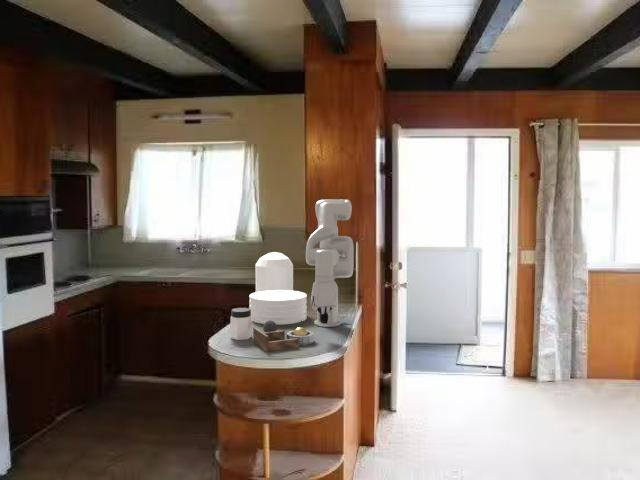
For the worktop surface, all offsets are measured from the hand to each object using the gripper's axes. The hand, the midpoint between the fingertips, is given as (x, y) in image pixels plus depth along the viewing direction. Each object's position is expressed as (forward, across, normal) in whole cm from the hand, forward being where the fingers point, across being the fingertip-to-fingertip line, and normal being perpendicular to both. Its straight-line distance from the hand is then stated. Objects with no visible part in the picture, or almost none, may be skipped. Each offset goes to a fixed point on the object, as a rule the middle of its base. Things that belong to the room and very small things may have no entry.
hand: (323, 322), depth 233 cm
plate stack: (+6, +2, -46) cm, 46 cm away
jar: (+7, +30, -18) cm, 36 cm away
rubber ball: (+4, +17, -18) cm, 25 cm away
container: (+4, -11, -84) cm, 84 cm away
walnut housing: (+7, +21, -1) cm, 23 cm away
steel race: (+7, +10, -1) cm, 13 cm away
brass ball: (+4, +10, -1) cm, 11 cm away
